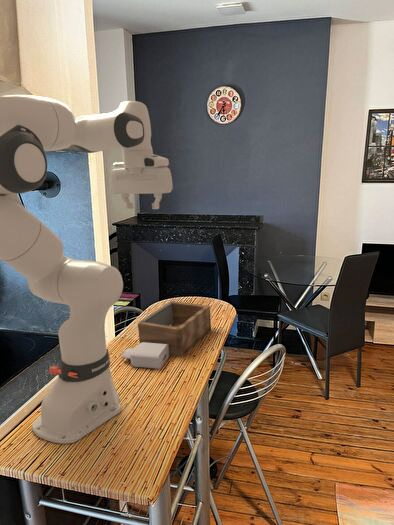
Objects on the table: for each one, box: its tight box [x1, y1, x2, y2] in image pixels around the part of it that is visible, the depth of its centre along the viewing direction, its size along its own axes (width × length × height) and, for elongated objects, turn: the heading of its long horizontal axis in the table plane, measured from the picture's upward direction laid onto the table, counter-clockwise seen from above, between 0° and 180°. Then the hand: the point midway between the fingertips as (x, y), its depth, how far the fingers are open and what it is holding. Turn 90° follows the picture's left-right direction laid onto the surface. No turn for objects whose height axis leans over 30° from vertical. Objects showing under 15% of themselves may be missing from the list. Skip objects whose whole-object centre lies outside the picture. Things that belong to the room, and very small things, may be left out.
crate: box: [137, 300, 212, 358], centre depth 139 cm, size 22×16×10 cm
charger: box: [118, 342, 170, 370], centre depth 126 cm, size 5×9×15 cm
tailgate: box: [140, 302, 173, 326], centre depth 142 cm, size 18×1×8 cm, turn 153°
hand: (142, 208), depth 120 cm, fingers open, 8 cm apart
